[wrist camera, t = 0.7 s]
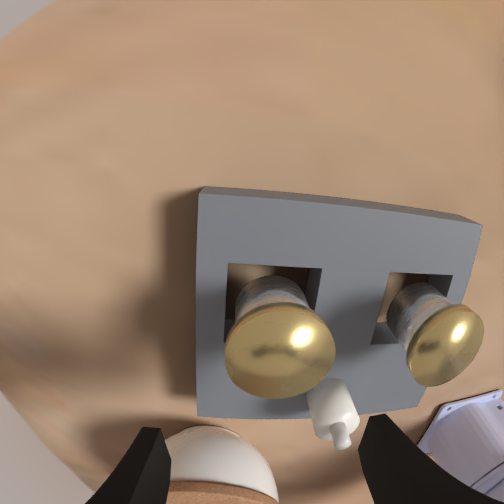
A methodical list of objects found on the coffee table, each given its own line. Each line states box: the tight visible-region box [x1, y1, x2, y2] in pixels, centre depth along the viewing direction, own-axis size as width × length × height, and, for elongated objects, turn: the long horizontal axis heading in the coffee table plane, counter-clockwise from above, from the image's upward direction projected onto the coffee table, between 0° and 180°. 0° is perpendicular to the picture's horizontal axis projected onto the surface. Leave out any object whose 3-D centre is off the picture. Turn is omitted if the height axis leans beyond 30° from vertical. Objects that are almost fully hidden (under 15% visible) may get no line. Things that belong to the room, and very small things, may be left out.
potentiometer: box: [306, 377, 360, 450], centre depth 16 cm, size 3×3×4 cm
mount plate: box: [196, 186, 483, 419], centre depth 18 cm, size 16×14×2 cm
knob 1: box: [225, 275, 336, 399], centre depth 14 cm, size 4×4×4 cm
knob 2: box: [386, 282, 484, 387], centre depth 15 cm, size 4×4×4 cm
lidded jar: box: [165, 425, 279, 504], centre depth 19 cm, size 11×11×9 cm
